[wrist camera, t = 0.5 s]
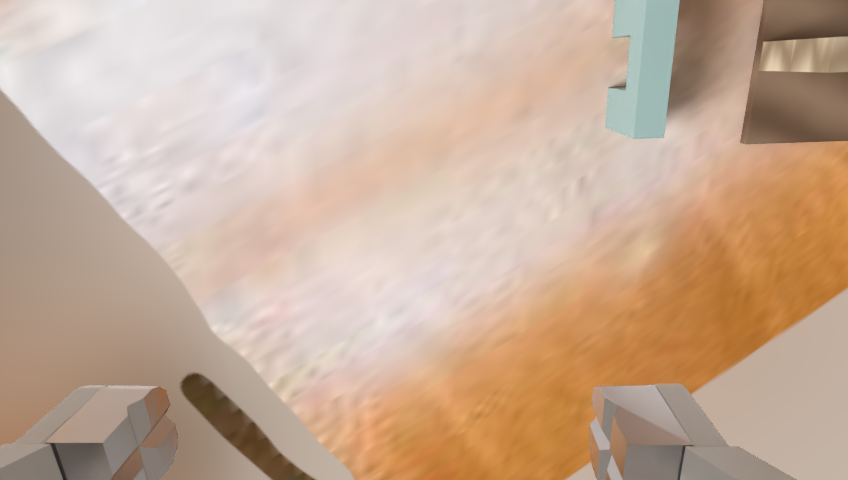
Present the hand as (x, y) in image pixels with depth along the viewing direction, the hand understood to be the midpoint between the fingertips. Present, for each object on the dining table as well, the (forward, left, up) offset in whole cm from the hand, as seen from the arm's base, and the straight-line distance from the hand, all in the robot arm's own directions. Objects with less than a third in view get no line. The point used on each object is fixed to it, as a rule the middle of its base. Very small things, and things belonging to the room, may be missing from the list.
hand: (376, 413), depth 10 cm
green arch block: (-5, +18, -43) cm, 47 cm away
